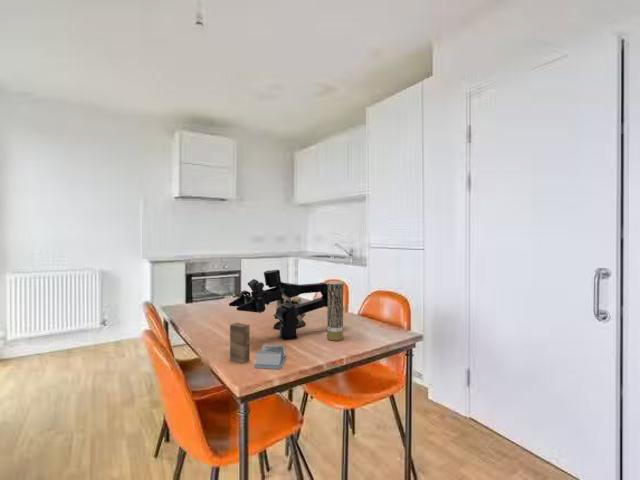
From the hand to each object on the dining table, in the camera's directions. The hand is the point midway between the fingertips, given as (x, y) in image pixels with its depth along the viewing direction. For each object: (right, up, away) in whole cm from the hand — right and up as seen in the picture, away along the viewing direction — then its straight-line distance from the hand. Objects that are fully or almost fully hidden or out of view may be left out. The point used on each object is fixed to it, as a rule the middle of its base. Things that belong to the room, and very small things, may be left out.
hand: (232, 306), depth 140 cm
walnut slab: (+6, -17, -14) cm, 23 cm away
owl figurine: (+20, -16, +32) cm, 41 cm away
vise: (+18, -17, -14) cm, 28 cm away
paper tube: (+42, -17, +12) cm, 46 cm away
